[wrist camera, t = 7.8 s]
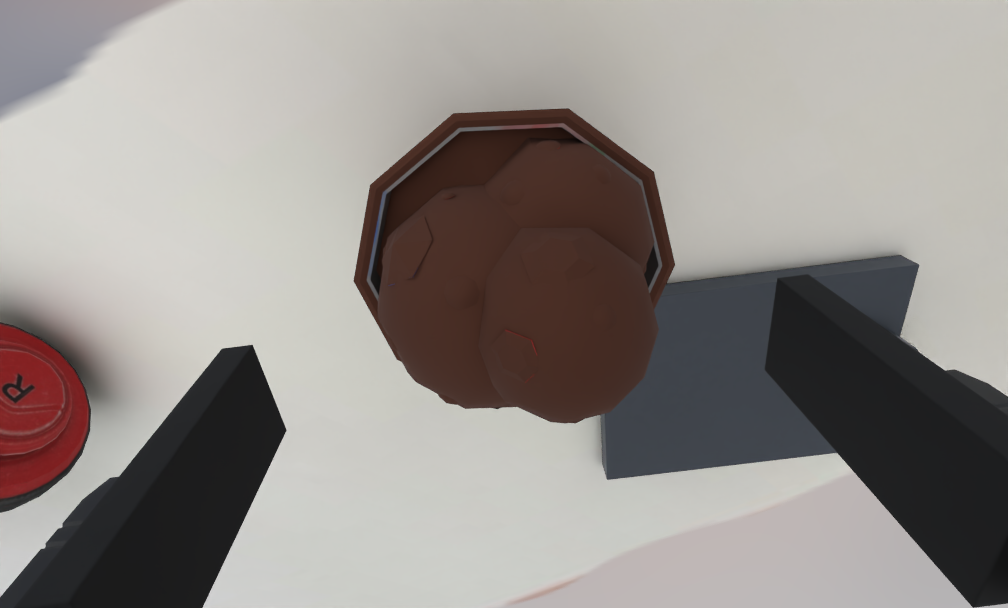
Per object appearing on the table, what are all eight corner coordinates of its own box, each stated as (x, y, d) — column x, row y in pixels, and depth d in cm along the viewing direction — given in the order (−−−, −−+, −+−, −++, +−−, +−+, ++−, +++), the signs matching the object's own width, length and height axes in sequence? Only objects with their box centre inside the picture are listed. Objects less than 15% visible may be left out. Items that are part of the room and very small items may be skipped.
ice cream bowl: (572, 42, 23) (698, 49, 10) (630, 258, 28) (766, 456, 15) (357, 128, 25) (215, 237, 11) (449, 320, 30) (426, 555, 16)
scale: (911, 253, 29) (954, 275, 26) (863, 433, 35) (895, 466, 32) (595, 292, 29) (607, 318, 26) (602, 464, 35) (612, 499, 32)
